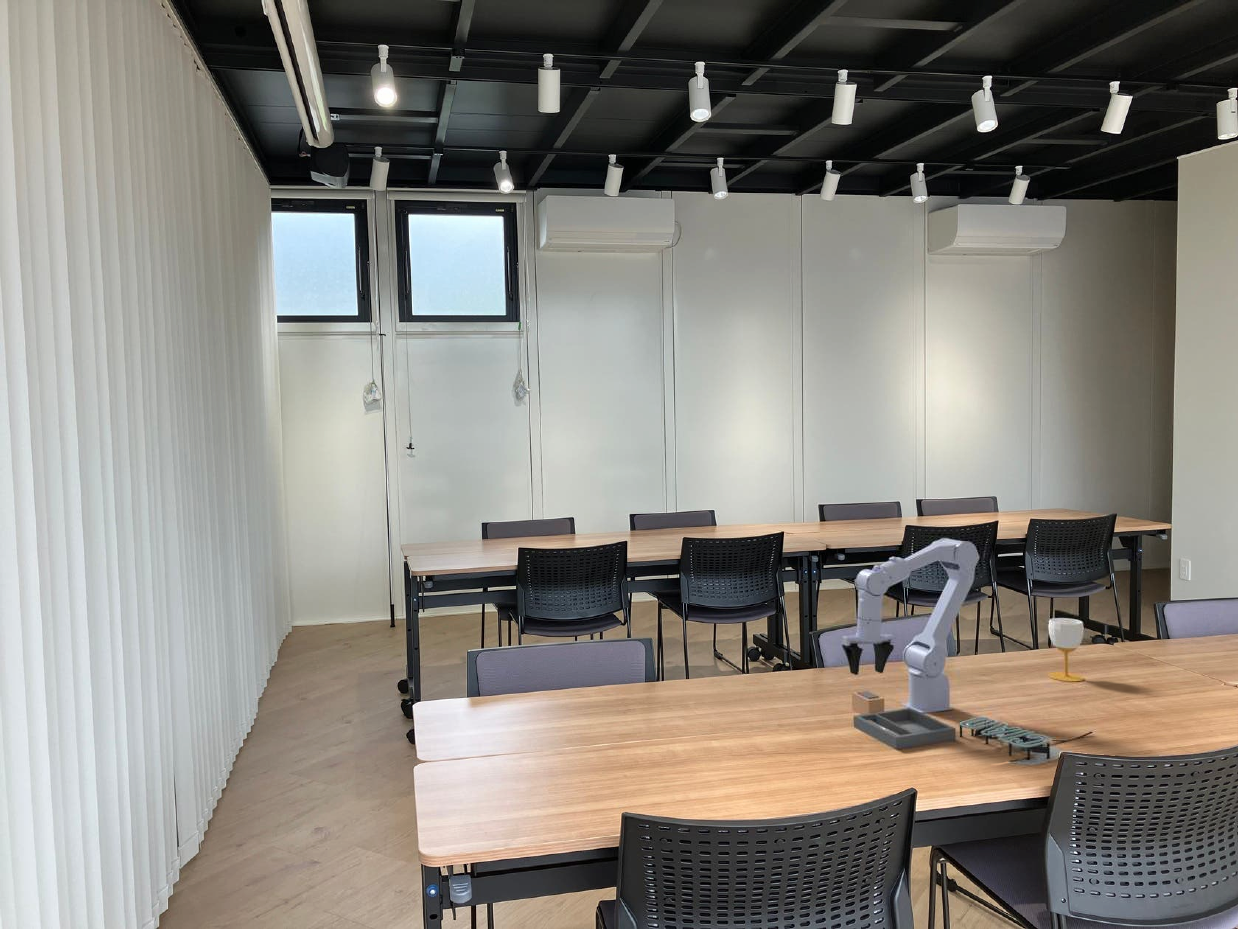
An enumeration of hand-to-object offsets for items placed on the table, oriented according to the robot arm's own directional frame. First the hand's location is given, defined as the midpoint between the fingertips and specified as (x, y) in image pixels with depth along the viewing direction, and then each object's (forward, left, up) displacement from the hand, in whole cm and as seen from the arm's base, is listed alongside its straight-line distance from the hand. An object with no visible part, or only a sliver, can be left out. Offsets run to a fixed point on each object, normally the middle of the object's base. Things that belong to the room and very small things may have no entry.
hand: (866, 673), depth 211 cm
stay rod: (+6, +15, -10) cm, 19 cm away
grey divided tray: (+1, +15, -11) cm, 18 cm away
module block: (0, 0, -11) cm, 11 cm away
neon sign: (-23, +28, -11) cm, 38 cm away
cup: (-70, -6, -11) cm, 71 cm away
